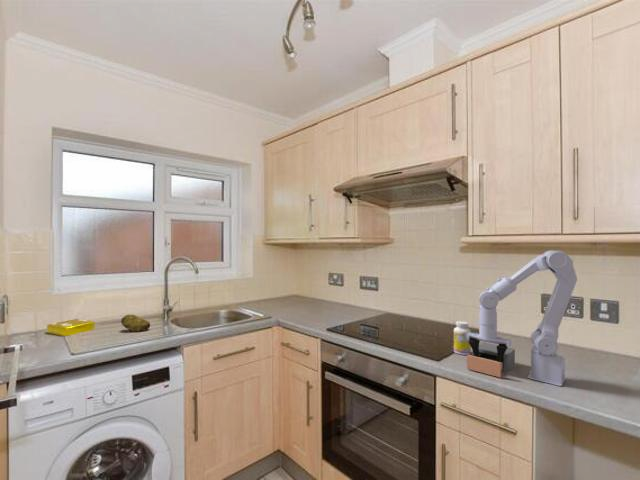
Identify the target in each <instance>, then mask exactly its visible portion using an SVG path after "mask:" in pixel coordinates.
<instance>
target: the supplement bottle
mask: <svg viewBox="0 0 640 480" xmlns="http://www.w3.org/2000/svg"><path fill="white" fill-rule="evenodd" d="M455 325H456V327H454V328H453V352H454V353H455V354H458V355H461V356H467V355H471V352H472V348H471V346H470V344H469V339H468V338H467V333H468V332H470V333H472V332H471V331H472V330H471V329H470V328H469V322H467V321H462V320H461V321H459V320H457V321H456V322H455Z"/></svg>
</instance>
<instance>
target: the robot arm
mask: <svg viewBox="0 0 640 480" xmlns="http://www.w3.org/2000/svg"><path fill="white" fill-rule="evenodd" d="M548 270H549V271H551V272H552V274H553V275H554V277H555V279H556V282H555V284H554V288H553V290H552V292H551V295H550V298H549V301H548V304H547V306H546V309H545V311H544V314H543V317H542V318H541V319H542V320H541V322H540V323H538V325H537V327H536V329H535V330H534V331H533V332H532V333H531V334H530V341H531V343H532V344H533V346H532V347H531V349H530V372H529V374H528V375H527V378H528V379H531V380H533V381H534V380H535V381H538V382H542V383H547V384H550V385H554V386H559V387H561V386H563V385H564V383H565V380H566V374H565V373H566V371H565V369H566V368H565V366H566V363H565V362H566V361H565V357H564V355H563V356H562V355H559V354H558V353H557V351H558V348H559V345H558V344H559V343H558V339H559V328H560V325H561V323H562V321H563V318H564V314H565V313H566V309H567V307H568V304H569V302H570V300H571V297H572V294H573V291H574V289H575V287H576V284H577V282H578V278H577V274H576V270H575V268H574V260H573V259H572V258H571V257H570V256H569V255H568V254H567V253H566V252H565V251H562V250H554V249H549V250H546V251H544V252H543V253H542V254H539V255H537V256H536V257H535V258H533V259H531V260H530V261H529V262H527V263H526V264H525V265H523V267H522V268H520V269H519V270H517V271H516V272H515V273H514V274H512V275H511V276H510V277H506V276H504V277H503V278H501V277H500V278H498V279H497V282H496V283H494V284H493V285H491V286H490V287H489V286H488V287H486V290H483V291H482V292H481V293H480V294H479V296H478V301H479V303H480V304H479V312H478V313H479V315H478V316H479V318H478V320H479V321H478V322H479V323H478V324H479V325H478V327H479V329H478V330H479V333H477V332H471V333H470V332H468V333H467V338H468V339H469V344H470V346H471V351H472V354H473V356H476V357H479V346H480V341H482V342H484V343H489V344H494V345H497V354H498V359H497V362H501V363H502V358H503V356H504V353H505V351H506V349H507V348H511V346H512V340H511V339H507V338H503V337H500V336H498V312H497V306H498V305H499V301H501V302H502V301H503V300H504V299H507V297H508V296H510V295H511V294H513V293H514V292H516V290H517V286H518V284H520V283H522V282H523V281H524V280H526V279H527V278H529V277H530V276H532V275H534V274H535V273H536V272H539V271H540V272H541V271H548Z"/></svg>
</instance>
